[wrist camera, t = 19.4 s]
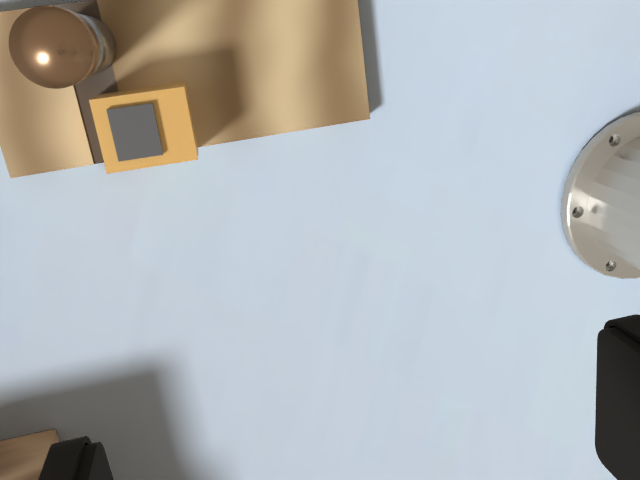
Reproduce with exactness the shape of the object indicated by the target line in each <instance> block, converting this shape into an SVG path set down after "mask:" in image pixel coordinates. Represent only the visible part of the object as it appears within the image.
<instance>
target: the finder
mask: <svg viewBox="0 0 640 480" xmlns="http://www.w3.org/2000/svg"><path fill="white" fill-rule="evenodd" d="M89 103H90V107H91V111H92V115H93V119H94V123H95V127H96V131H97V135H98V139H99V143H100V148H101V152H102V156H103V160H104V164H105V168H106V172H107V174H108V173H114V172H121V171H127V170H133V169H140V168H146V167H153V166H159V165H165V164H172V163H178V162H184V161H191V160H197V159H198V145H197V140H196V135H195V130H194V124H193V119H192V114H191V109H190V103H189V98H188V93H187V88H186V82H183V83H176V84H169V85H162V86H154V87H147V88H140V89H133V90H126V91H118V92H111V93H104V94H98V95H97V96H95V97H93V98H92V99H90V100H89Z"/></svg>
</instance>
